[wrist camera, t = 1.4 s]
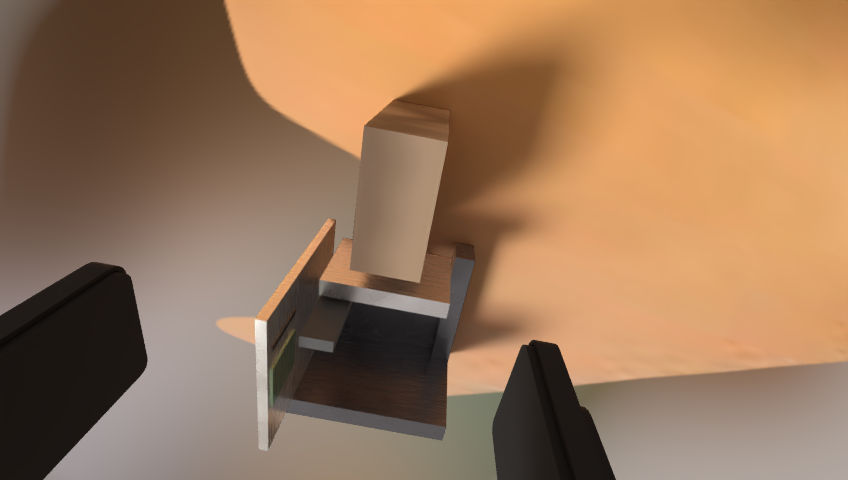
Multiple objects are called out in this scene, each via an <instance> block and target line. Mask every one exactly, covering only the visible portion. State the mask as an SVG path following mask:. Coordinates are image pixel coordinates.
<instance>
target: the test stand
mask: <svg viewBox="0 0 848 480" xmlns="http://www.w3.org/2000/svg"><path fill="white" fill-rule="evenodd" d="M335 224H336V220H333V219H328V220H327V221H326V223H325V224H324V225H323V227H322V228H321V229H320V231H319V232H318V234H317V235H316V237H315V238H314V239H313V240H312V242H311V243H310V245H309V246H308V247H307V249H306V250H305V251H304V253H303V254H302V255H301V257H300V258H299V260H298V261H297V262H296V264H295V265H294V267H293V268H292V269H291V271H290V272H289V273H288V275H287V276H286V277H285V279H284V280H283V282H282V283H281V284H280V286H279V287H278V288H277V290H276V291H275V292H274V294H273V295H272V296H271V298H270V299H269V301H268V302H267V303H266V305H265V306H264V307H263V309H262V310H261V311H260V313H259V314H258V316H257V317H256V318H255V340H256V368H257V369H256V371H257V402H258V432H259V449H261V450H267V451H268V450H269V448H270V446H271V444H272V442H273V439H274V437H275V435H276V433H277V431H278V429H279V426H280V424H281V422H282V420H283V418H284V416H285V413H286V412H287V413H292V414H298V415H303V416H309V417H315V418H320V419H326V420H331V421H337V422H342V423H348V424H354V425H359V426H365V427H370V428H376V429H381V430H387V431H393V432H398V433H404V434H409V435H415V436H421V437H426V438H432V439H437V440H442V439H443V435H444V433H445V429H446V408H447V362H448V359H449V355H450V351H451V348H452V344H453V340H454V337H455V333H456V329H457V326H458V322H459V318H460V315H461V311H462V307H463V303H464V300H465V296H466V292H467V289H468V285H469V281H470V278H471V274H472V270H473V267H474V263H475V255H474V246H472V245H467V244H461V243H455V247H454V251H453V255H452V259H451V272H450V306H449V310H448V314H447V318H446V319H445V318H440V317H435V316H429V315H424V314H418V313H413V312H407V311H402V310H397V309H391V308H386V307H380V306H375V305H370V304H364V303H359V302H353V303H352V305H351V308H350V311H349V313H348V316H347V318H346V321H345V323H344V326H343V328H342V331H341V333H340V336H339V338H338V341H337V343H336V346H335V348H334V351H333V353H332V352H326V351H321V350H315V349H310V348H304V347H299V335H300V333H301V331H302V330H303V328H304V326H305V324H306V322H307V320H308V318H309V316H310V315H311V313H312V311H313V309H314V307H315V305H316V303H317V302H318V300H319V298H320V296H321V295H319V280H320V278H321V276H322V275H323V273H324V271H325V269H326V268H327V266H328V264H329V262H330V261H331V259H332V257H333V249H334V237H335Z"/></svg>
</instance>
